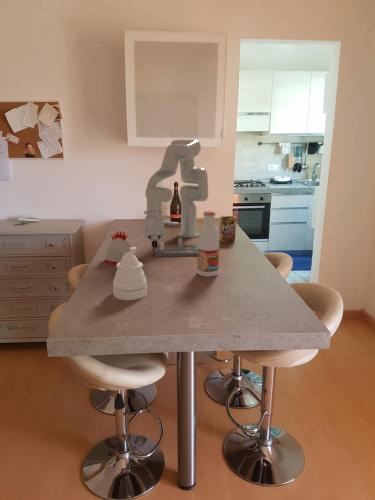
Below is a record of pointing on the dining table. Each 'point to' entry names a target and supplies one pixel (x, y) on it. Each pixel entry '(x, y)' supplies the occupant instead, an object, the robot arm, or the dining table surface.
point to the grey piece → (117, 249)
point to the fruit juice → (208, 246)
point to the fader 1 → (162, 245)
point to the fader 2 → (180, 242)
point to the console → (177, 250)
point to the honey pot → (129, 278)
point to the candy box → (227, 228)
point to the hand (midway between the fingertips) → (154, 247)
